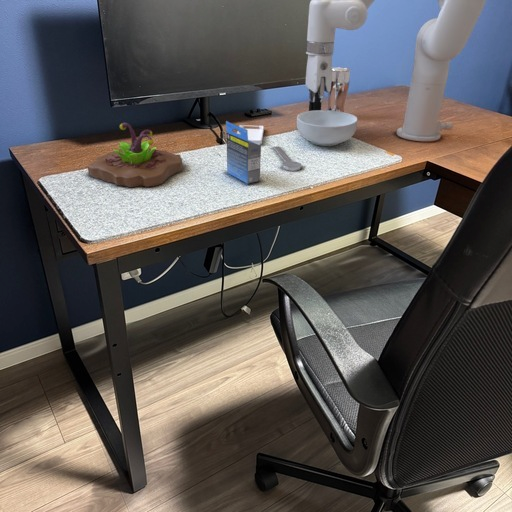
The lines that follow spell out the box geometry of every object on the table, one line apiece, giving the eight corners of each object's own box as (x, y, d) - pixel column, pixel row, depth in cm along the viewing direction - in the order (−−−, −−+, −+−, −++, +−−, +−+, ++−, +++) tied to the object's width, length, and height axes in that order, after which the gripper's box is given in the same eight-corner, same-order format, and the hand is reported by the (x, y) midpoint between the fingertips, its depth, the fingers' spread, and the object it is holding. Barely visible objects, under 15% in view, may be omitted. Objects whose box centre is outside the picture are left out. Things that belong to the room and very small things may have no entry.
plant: (127, 152, 126) (122, 108, 121) (194, 163, 120) (192, 118, 114) (75, 178, 110) (66, 128, 105) (148, 192, 104) (143, 141, 98)
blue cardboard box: (261, 181, 111) (262, 127, 105) (247, 184, 109) (247, 130, 103) (239, 169, 117) (239, 118, 111) (225, 172, 115) (225, 120, 109)
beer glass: (348, 115, 164) (354, 68, 157) (340, 120, 159) (345, 71, 151) (329, 112, 167) (334, 66, 160) (321, 116, 162) (325, 69, 155)
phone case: (261, 145, 134) (263, 130, 147) (261, 140, 133) (263, 125, 146) (234, 144, 134) (239, 129, 147) (234, 139, 134) (239, 124, 147)
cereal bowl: (297, 132, 146) (299, 108, 143) (353, 135, 144) (356, 111, 141) (293, 149, 132) (295, 123, 128) (355, 153, 130) (359, 127, 126)
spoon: (284, 148, 132) (284, 145, 132) (303, 170, 118) (303, 167, 117) (268, 148, 132) (268, 146, 131) (285, 171, 117) (285, 168, 117)
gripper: (342, 52, 130) (334, 121, 139) (324, 44, 142) (318, 108, 151) (315, 52, 128) (309, 122, 137) (299, 44, 141) (295, 109, 150)
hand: (314, 115), depth 144 cm, fingers closed
